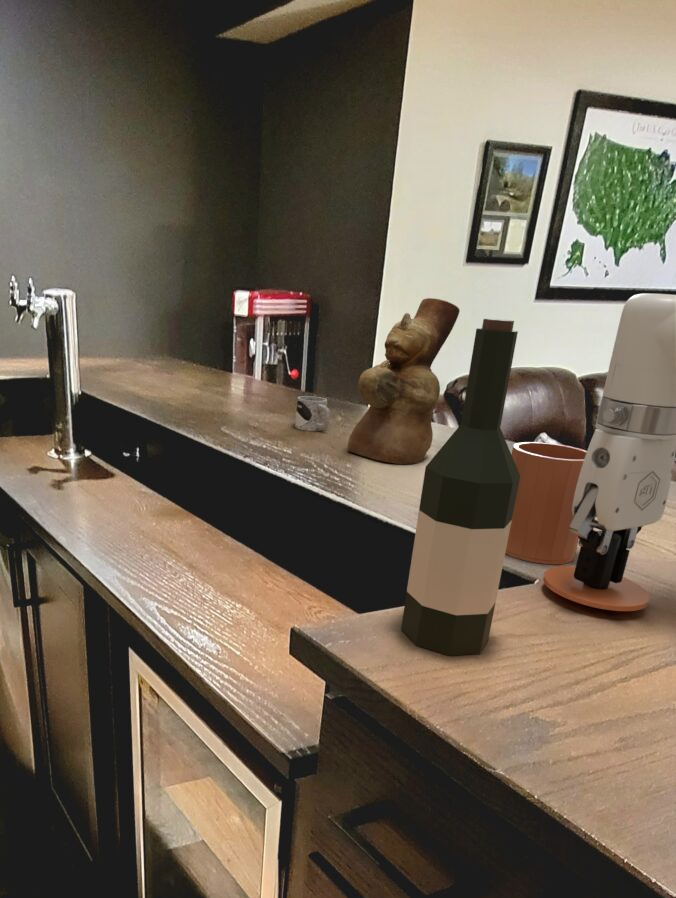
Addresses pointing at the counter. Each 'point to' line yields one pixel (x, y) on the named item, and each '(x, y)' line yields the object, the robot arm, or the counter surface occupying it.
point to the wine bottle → (466, 511)
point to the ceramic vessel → (404, 388)
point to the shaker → (544, 502)
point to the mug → (312, 413)
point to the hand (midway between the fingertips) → (597, 579)
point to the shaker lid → (605, 597)
